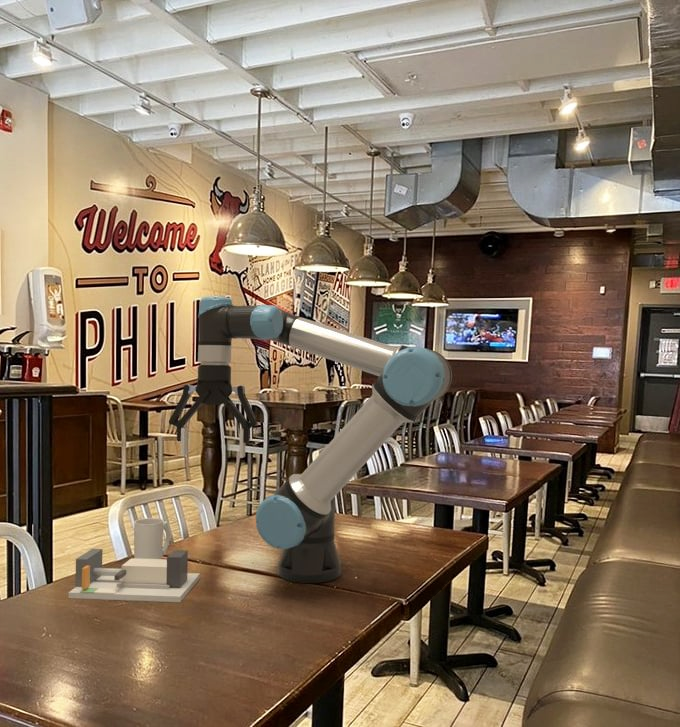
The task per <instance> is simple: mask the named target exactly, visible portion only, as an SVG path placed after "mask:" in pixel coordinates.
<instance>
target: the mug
mask: <svg viewBox="0 0 680 727" xmlns="http://www.w3.org/2000/svg"><path fill="white" fill-rule="evenodd" d="M133 527H134V528H133V548H134V549H133V558H138V559H163V556H164V555H167V553H168V549H169V545H170V541H171V531H170V528H169V525H168V521H164V520H163V519H162V518H159V517H158V518H157V517H146V518H140V519H136V520H135V521H134V522H133ZM164 532H165V540H164V539H163V538H164ZM163 540H164V541H163ZM163 543H164V544H163Z"/></svg>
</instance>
